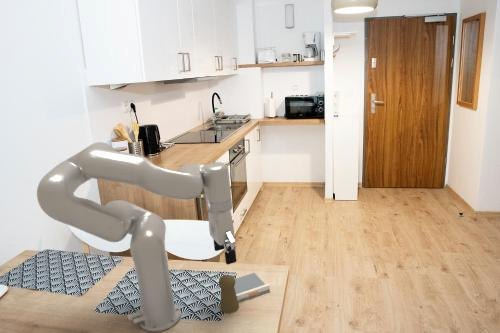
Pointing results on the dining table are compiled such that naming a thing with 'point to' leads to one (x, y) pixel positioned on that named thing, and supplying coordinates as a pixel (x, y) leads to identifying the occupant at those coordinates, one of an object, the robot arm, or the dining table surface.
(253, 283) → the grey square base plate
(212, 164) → the robot arm
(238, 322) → the dining table surface
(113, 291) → the dining table surface
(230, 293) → the olive brown pepper mill
